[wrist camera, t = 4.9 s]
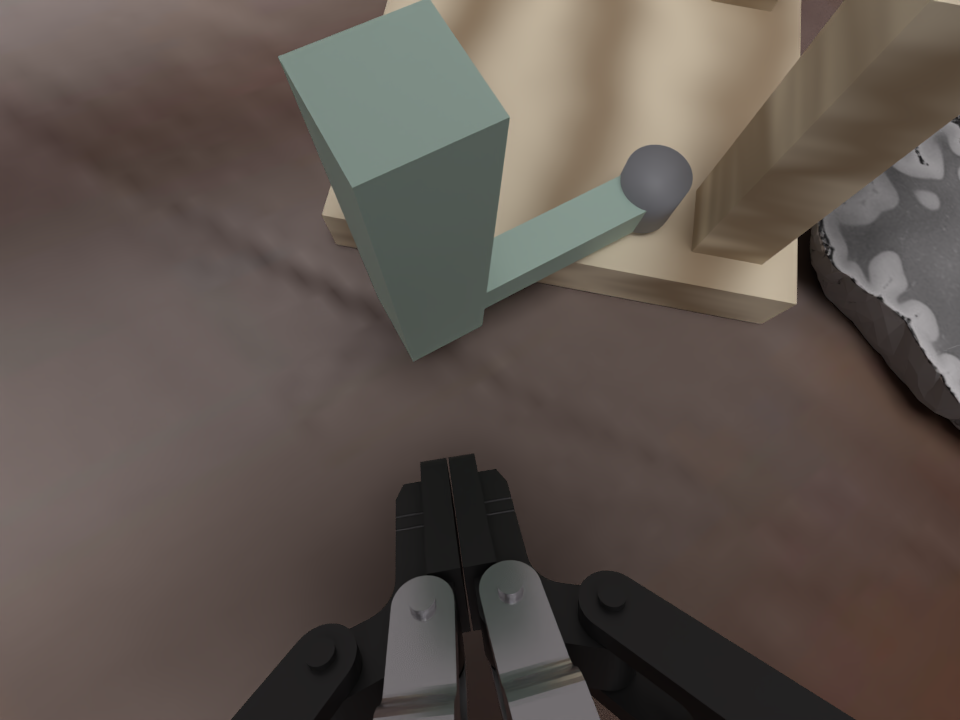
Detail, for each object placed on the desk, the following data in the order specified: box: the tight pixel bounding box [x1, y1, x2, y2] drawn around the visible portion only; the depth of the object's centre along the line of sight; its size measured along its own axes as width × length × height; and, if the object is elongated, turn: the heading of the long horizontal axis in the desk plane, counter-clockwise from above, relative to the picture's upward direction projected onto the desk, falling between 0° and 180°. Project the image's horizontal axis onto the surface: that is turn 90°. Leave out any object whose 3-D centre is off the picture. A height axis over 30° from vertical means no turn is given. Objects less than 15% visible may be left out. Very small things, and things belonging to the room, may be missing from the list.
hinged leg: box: [278, 0, 693, 362], centre depth 15 cm, size 13×3×11 cm, turn 119°
